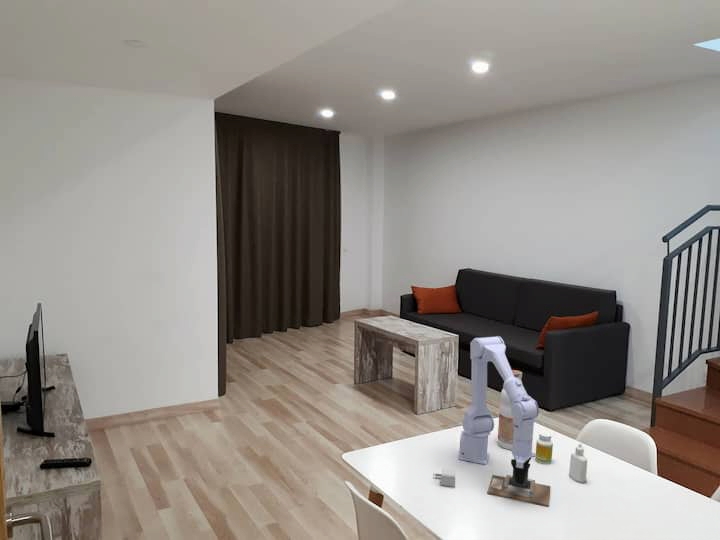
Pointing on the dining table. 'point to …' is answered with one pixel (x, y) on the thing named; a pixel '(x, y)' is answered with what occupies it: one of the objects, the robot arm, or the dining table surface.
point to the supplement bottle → (544, 448)
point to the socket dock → (519, 490)
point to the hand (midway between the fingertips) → (519, 480)
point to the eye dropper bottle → (578, 465)
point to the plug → (518, 483)
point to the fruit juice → (506, 418)
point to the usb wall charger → (446, 477)
